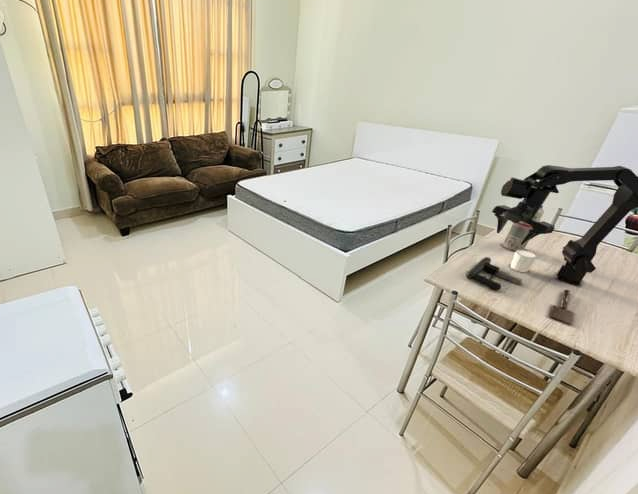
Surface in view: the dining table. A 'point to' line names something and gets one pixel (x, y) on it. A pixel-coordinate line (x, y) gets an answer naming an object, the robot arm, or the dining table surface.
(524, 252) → the white cup
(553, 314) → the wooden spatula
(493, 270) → the door handle
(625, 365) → the dining table surface
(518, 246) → the spray can
